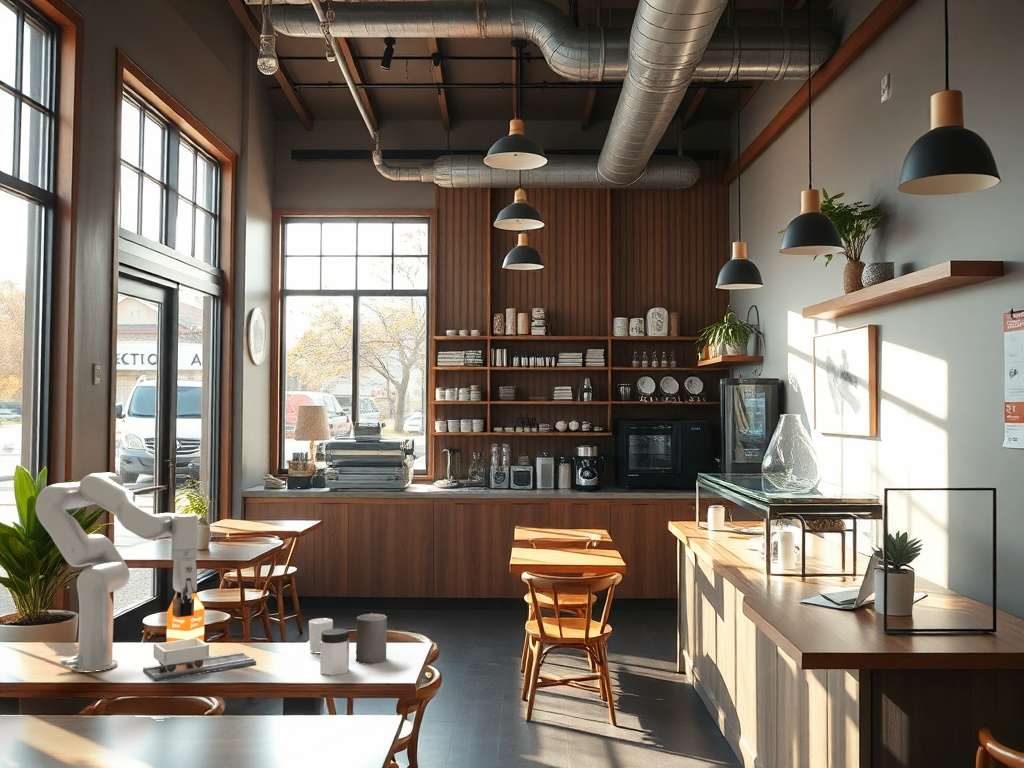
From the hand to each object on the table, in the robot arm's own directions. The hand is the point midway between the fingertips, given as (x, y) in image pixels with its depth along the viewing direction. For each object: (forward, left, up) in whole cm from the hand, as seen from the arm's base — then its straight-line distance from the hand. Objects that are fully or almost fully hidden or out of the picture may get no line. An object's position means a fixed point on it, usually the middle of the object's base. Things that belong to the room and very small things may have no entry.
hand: (183, 613), depth 254 cm
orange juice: (+7, +20, -17) cm, 27 cm away
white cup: (+44, -4, -17) cm, 47 cm away
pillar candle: (+52, -25, -17) cm, 60 cm away
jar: (+37, -30, -17) cm, 50 cm away
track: (+6, 0, -17) cm, 18 cm away
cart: (0, 0, -16) cm, 16 cm away
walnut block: (0, 0, -1) cm, 1 cm away
